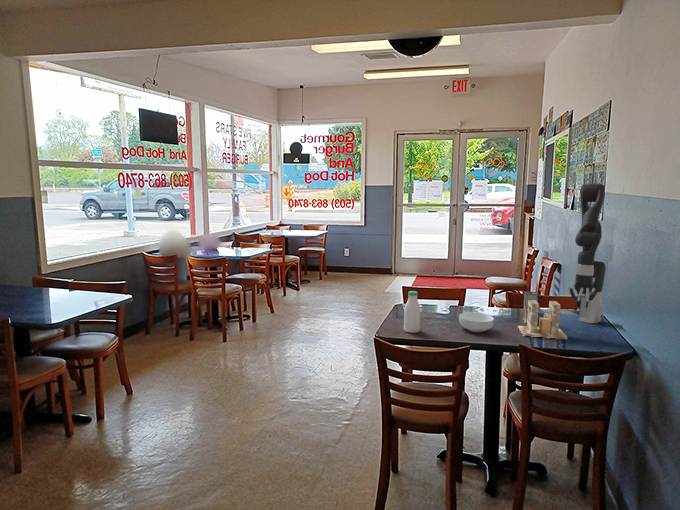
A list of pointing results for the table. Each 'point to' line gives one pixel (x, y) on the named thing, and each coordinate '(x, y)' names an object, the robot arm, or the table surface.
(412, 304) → the milk bottle
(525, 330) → the stand
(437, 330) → the table surface
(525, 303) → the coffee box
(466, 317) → the cereal bowl
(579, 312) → the shaft
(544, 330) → the spacer
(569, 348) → the table surface
